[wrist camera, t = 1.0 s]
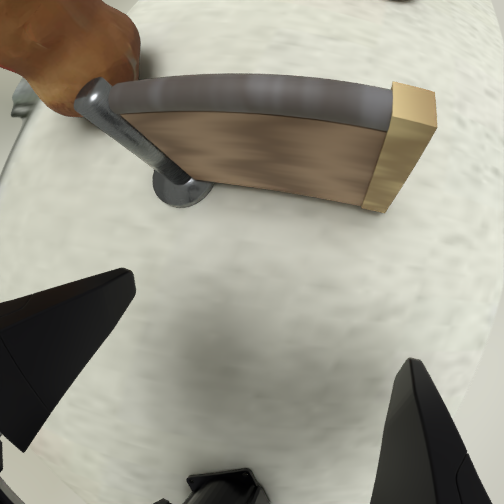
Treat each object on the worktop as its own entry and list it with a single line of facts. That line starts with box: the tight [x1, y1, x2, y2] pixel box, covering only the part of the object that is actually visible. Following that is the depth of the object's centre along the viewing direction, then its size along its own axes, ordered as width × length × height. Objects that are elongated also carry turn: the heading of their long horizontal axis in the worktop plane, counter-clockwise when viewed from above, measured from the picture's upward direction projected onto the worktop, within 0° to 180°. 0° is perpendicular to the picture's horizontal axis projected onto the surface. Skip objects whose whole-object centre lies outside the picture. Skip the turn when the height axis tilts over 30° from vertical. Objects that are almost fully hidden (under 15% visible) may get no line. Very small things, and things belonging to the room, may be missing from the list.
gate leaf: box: [108, 74, 437, 213], centre depth 17 cm, size 15×2×12 cm, turn 76°
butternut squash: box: [0, 0, 140, 117], centre depth 19 cm, size 14×13×25 cm
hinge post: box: [74, 77, 215, 208], centre depth 20 cm, size 6×6×14 cm
